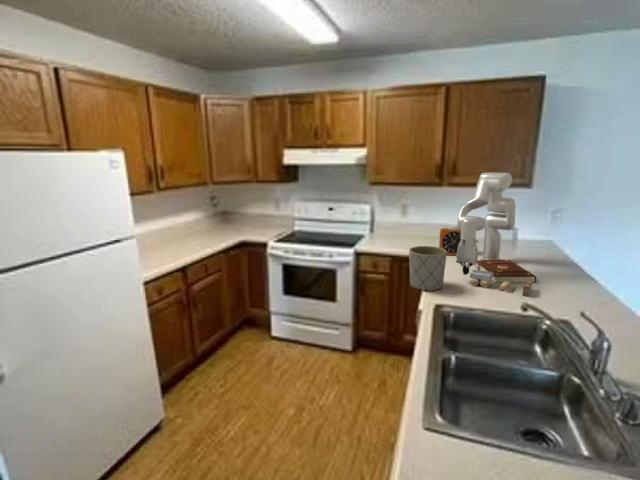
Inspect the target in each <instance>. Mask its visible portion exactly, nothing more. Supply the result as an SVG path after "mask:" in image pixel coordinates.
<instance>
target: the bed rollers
mask: <svg viewBox="0 0 640 480" xmlns="http://www.w3.org/2000/svg"><path fill="white" fill-rule="evenodd" d="M492 282H493V281H492V279H491V280H490V281H487V280H481V279H474V278H471V280H470V285H471V286H472V287H477V286H478V285H479V284H480V286H481V288H483V289H486V288H488V287H489V286H490V285H491V283H492ZM516 288H517V287H516V286H513V288H512V290H511V291H510V294H513V293H514V292H515V289H516ZM498 291H499V292H502V291H501V289H500V288H499V289H498Z"/></svg>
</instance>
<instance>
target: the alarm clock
mask: <svg viewBox="0 0 640 480" xmlns="http://www.w3.org/2000/svg"><path fill="white" fill-rule="evenodd" d="M438 239H439V241H438V243H439V244H438V247H439V248H443V249H445V250H446V251H447V255H446V257H447V256H449V257H450V256H451V257H457V250H458V245H459V243H460V239H461V228H459V227H458V225H450V226H448V227H446V226H443V227H440V228H439V237H438Z"/></svg>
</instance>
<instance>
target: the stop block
mask: <svg viewBox="0 0 640 480" xmlns="http://www.w3.org/2000/svg"><path fill="white" fill-rule="evenodd" d="M523 284H524V285H523V287H522V297H525V296H526V297H525V298H528V297H529V295H530V293H531V291H532V287H533V285H532V284H533V283H532V280H527V281H526V282H525V283H523Z"/></svg>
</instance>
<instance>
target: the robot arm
mask: <svg viewBox="0 0 640 480" xmlns="http://www.w3.org/2000/svg"><path fill="white" fill-rule="evenodd" d="M512 182H513V176H512V174H511V173H509V172H491V171H490V172H482V173H481V174H480V175H479V179H478V181H477V184H476V187H475V190H474V193H473V197H472V199H471V200H469V201H468V202H466V203H465V204H464V205H463V206H462V207H461V209H460V211H459V213H458V217H457V222H456V224H457V225H456V226H458V227H459V228H461V239H460V243H459V245H458V250H457V256H455V257H456V258H455V259H456V260H455V262H456V263H457V264H459V265H460V266H461V267H462V275H465V276H467V275H468V274H470V268H471V267H472V266H476V265H477V260H478V255H479V253H478V244H479V240H477V238H476V237H477V231H482V230H483V229H484V237H483V239H484V241H483V252H482V258H480V259H479V260H500V252H501V249H500V248H501V239H502V236H501V233H500V231H499V230H503V231H511V230H513V229H514V228H515V224H516V201H515V199H514V198H511V197H503V192H505V191H506V190H507V189H509V187H511V185H512ZM485 206H486V210H487V211H488V212H489V213H487V214H486V215H485V216H484V218H483V217H482V216H473V215H468V214H469V213H470V212H472V211H473V210H477V209H479V208H482V207H485Z"/></svg>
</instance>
